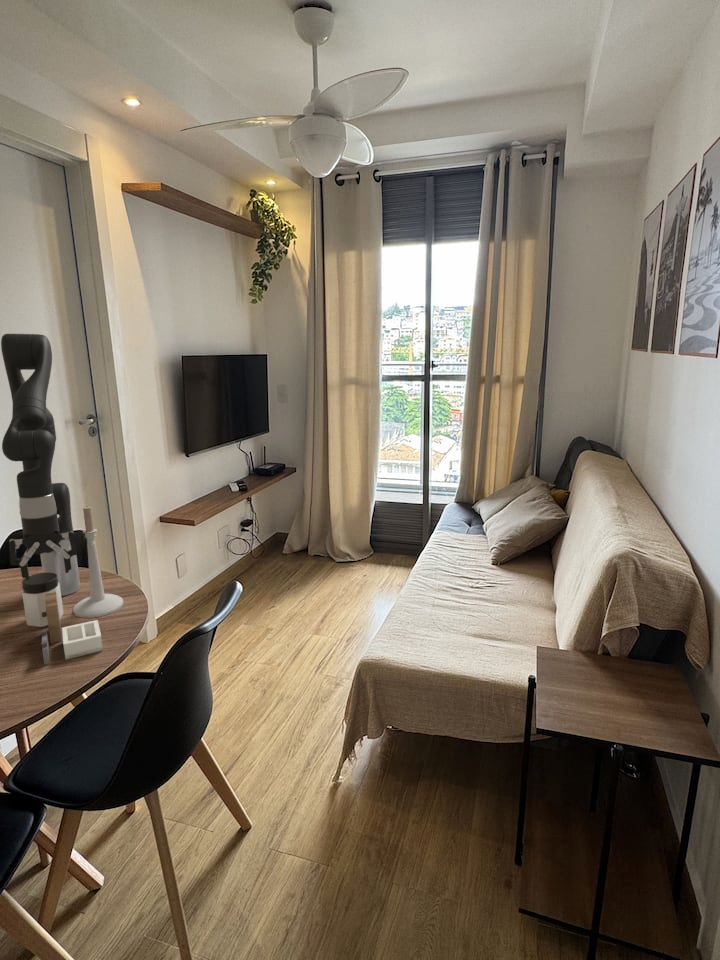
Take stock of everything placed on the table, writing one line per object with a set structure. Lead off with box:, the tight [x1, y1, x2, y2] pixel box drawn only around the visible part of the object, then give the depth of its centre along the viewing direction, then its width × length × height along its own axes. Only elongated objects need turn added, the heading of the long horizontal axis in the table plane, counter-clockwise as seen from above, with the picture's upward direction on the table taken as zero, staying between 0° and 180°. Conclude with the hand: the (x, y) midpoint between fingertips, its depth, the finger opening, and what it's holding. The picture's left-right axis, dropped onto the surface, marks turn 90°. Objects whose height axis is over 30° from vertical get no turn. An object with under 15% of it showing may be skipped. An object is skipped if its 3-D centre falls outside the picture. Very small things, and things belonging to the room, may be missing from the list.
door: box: [42, 592, 63, 644], centre depth 135 cm, size 8×3×10 cm, turn 30°
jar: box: [21, 572, 64, 628], centre depth 142 cm, size 9×8×12 cm
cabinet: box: [40, 619, 104, 666], centre depth 129 cm, size 9×12×5 cm
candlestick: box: [72, 506, 124, 619], centre depth 147 cm, size 13×13×30 cm
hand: (47, 575), depth 132 cm, fingers open, 8 cm apart
